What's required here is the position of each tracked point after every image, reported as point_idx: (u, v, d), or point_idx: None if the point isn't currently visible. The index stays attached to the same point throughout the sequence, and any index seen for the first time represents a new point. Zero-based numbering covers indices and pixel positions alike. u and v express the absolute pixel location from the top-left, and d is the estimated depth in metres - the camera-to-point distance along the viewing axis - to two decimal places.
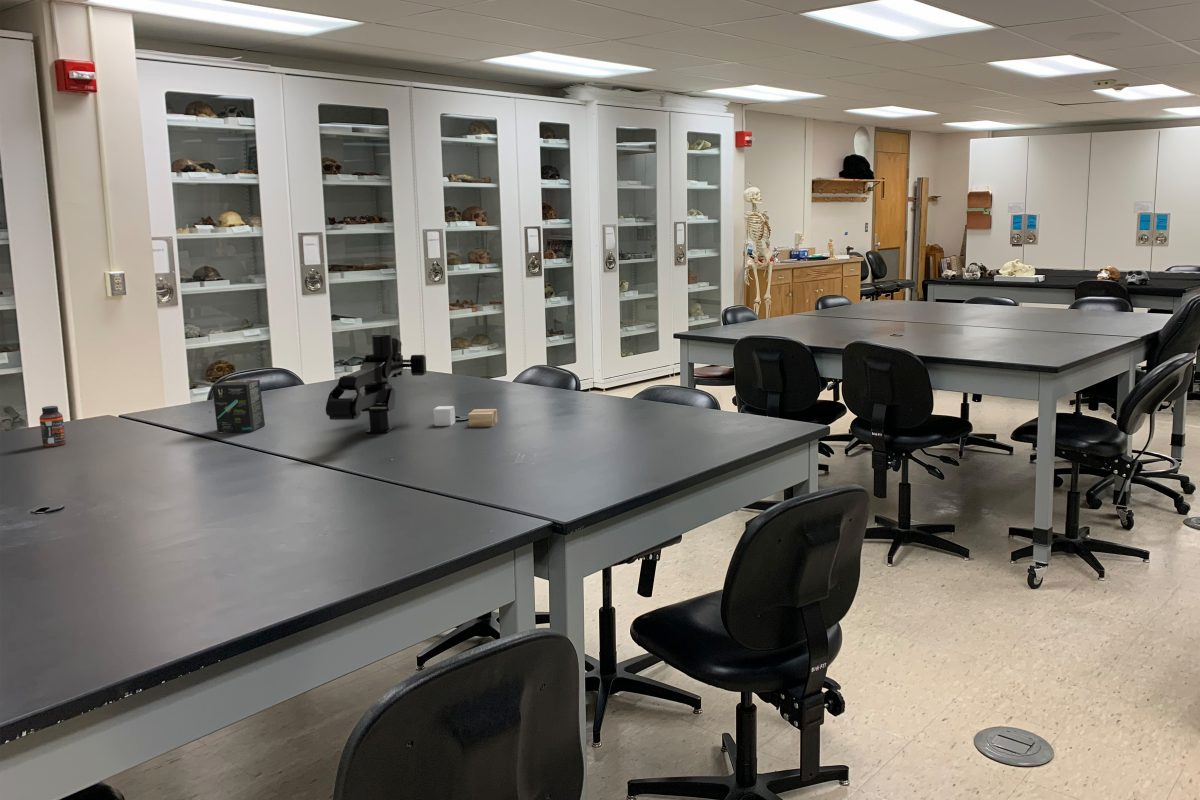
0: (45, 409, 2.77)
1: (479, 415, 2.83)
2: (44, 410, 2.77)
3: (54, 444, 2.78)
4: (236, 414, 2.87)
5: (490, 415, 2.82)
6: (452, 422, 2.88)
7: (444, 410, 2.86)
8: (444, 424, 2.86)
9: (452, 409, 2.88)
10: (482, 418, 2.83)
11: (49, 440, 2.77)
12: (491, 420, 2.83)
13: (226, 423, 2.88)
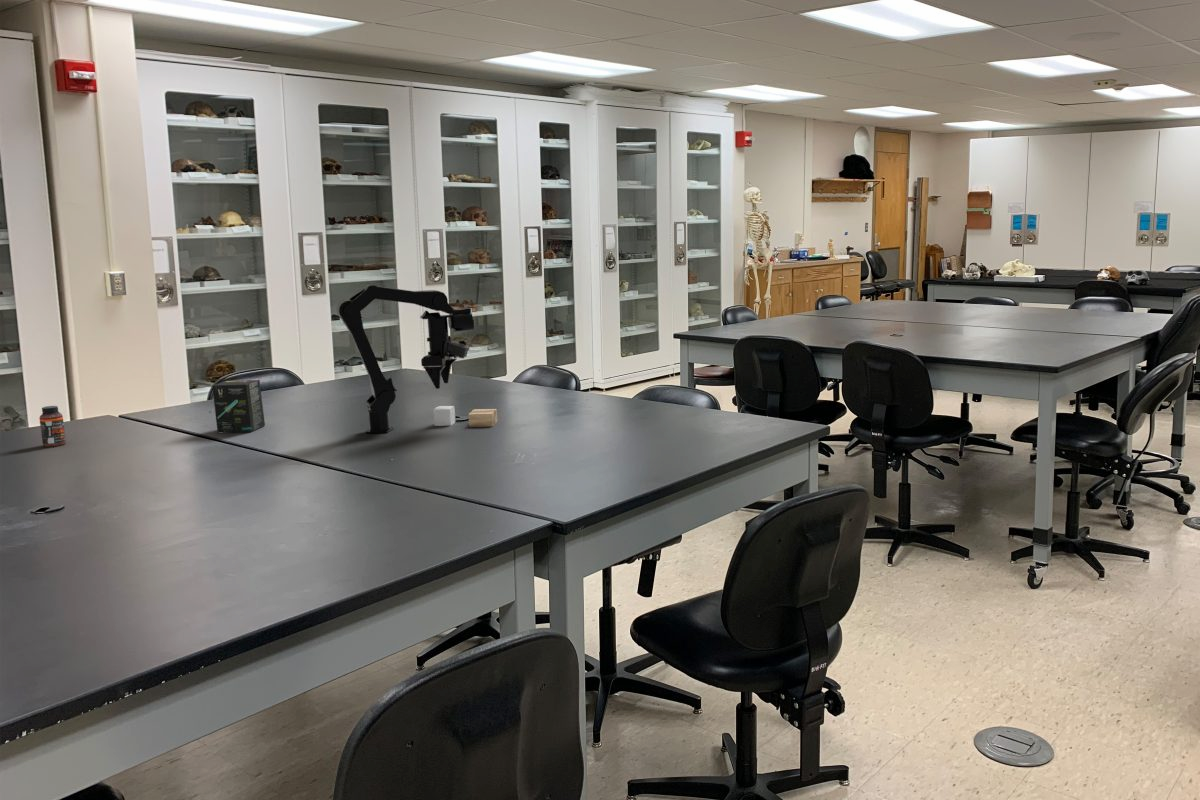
0: (45, 409, 2.77)
1: (479, 415, 2.83)
2: (44, 410, 2.77)
3: (54, 444, 2.78)
4: (236, 414, 2.87)
5: (490, 415, 2.82)
6: (452, 422, 2.88)
7: (444, 410, 2.86)
8: (444, 424, 2.86)
9: (452, 409, 2.88)
10: (482, 418, 2.83)
11: (49, 440, 2.77)
12: (491, 420, 2.83)
13: (226, 423, 2.88)
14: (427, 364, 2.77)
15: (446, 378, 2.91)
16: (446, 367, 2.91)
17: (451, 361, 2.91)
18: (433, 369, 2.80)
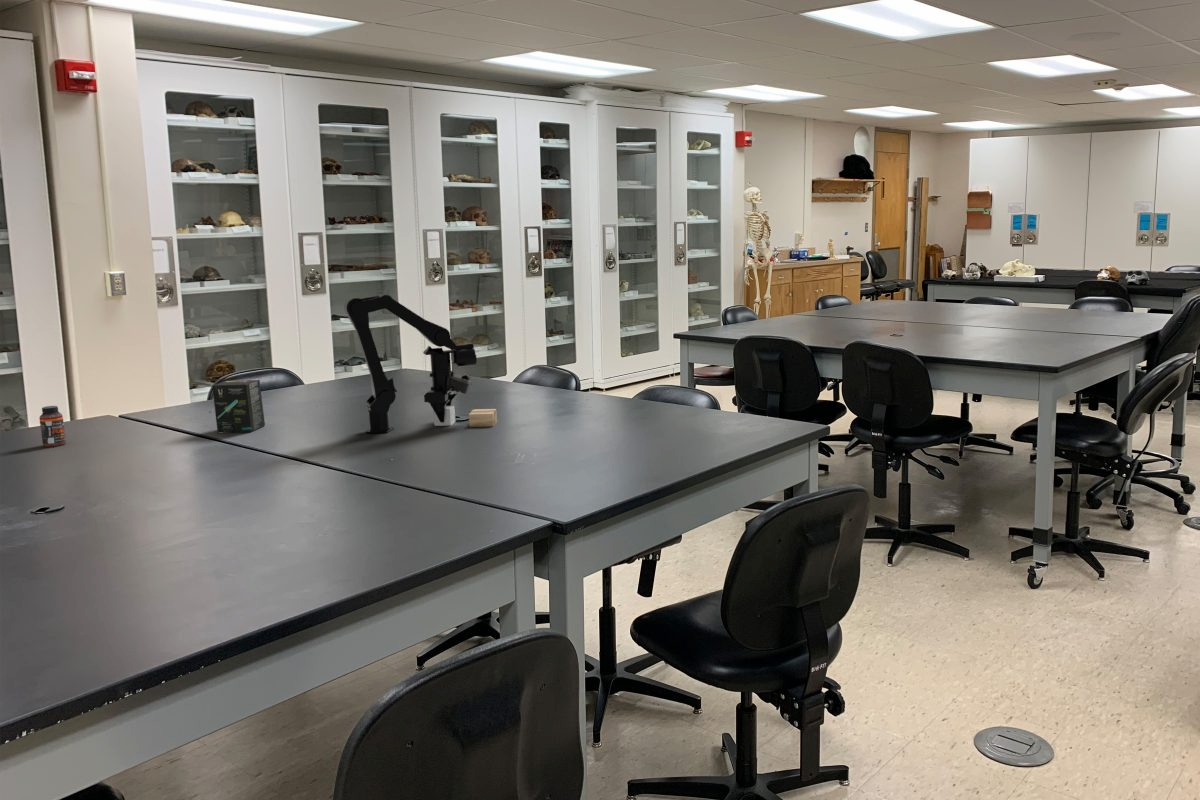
0: (45, 409, 2.77)
1: (480, 415, 2.83)
2: (44, 410, 2.77)
3: (54, 444, 2.78)
4: (236, 414, 2.87)
5: (491, 415, 2.82)
6: (452, 422, 2.88)
7: None
8: (444, 424, 2.86)
9: (452, 409, 2.88)
10: (483, 418, 2.83)
11: (49, 440, 2.77)
12: (492, 420, 2.83)
13: (226, 423, 2.88)
14: (430, 400, 2.78)
15: None
16: (447, 402, 2.91)
17: (452, 396, 2.91)
18: (438, 403, 2.84)
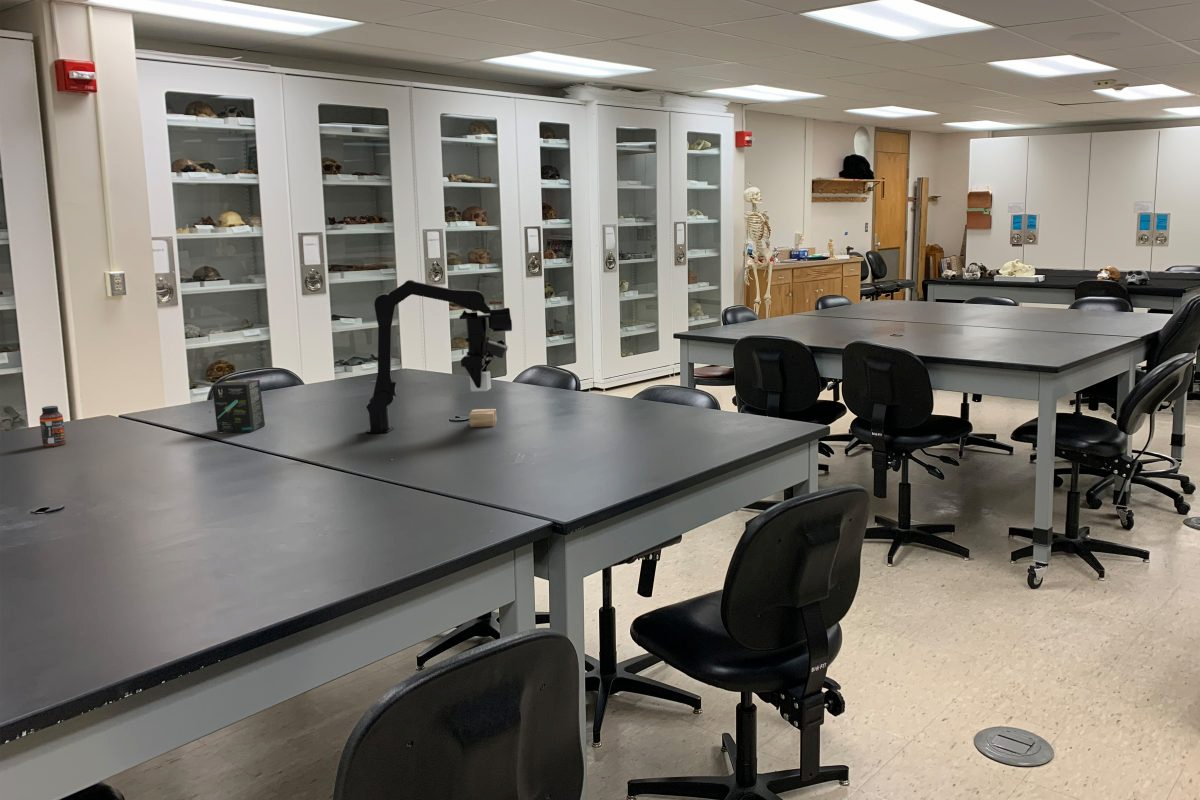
0: (45, 409, 2.77)
1: (480, 415, 2.83)
2: (44, 410, 2.77)
3: (54, 444, 2.78)
4: (236, 414, 2.87)
5: (491, 415, 2.83)
6: (488, 387, 2.84)
7: None
8: (480, 389, 2.82)
9: (488, 374, 2.84)
10: (483, 418, 2.83)
11: (49, 440, 2.77)
12: (492, 420, 2.83)
13: (226, 423, 2.88)
14: (467, 364, 2.74)
15: None
16: (483, 368, 2.87)
17: (488, 362, 2.86)
18: (474, 368, 2.80)
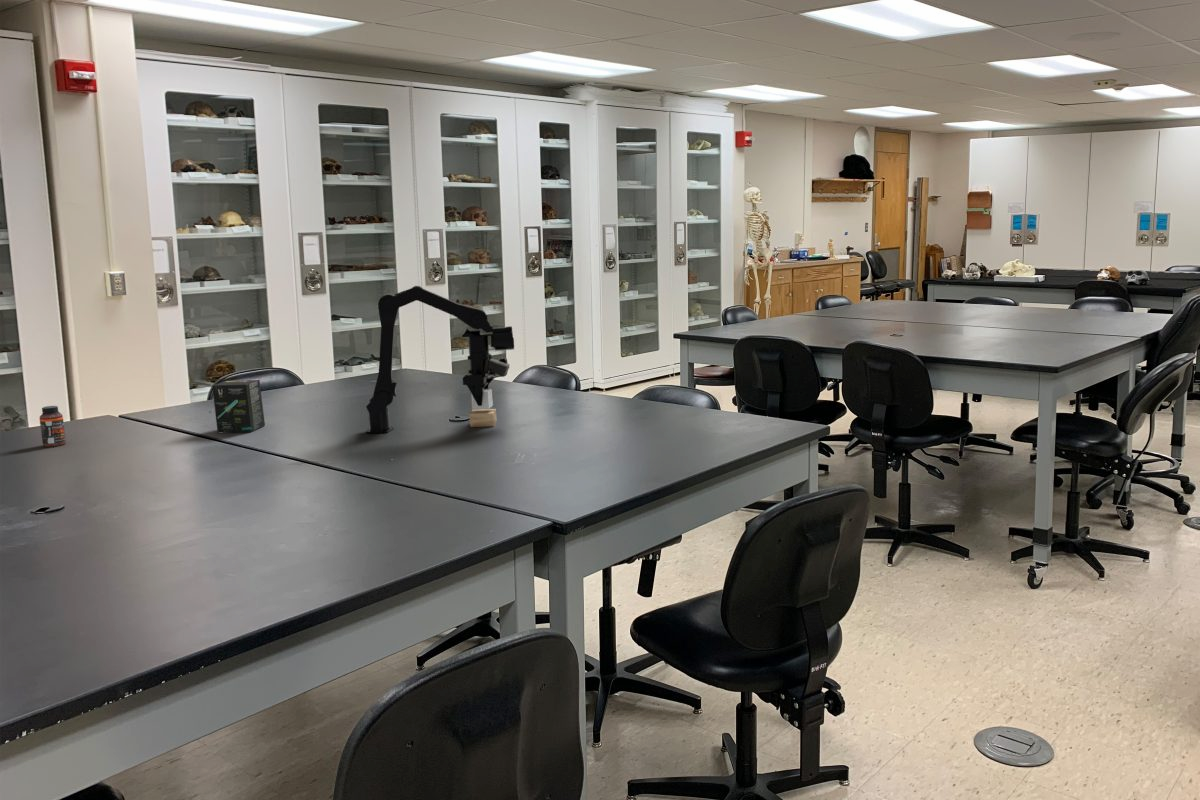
0: (45, 409, 2.77)
1: (480, 415, 2.83)
2: (44, 410, 2.77)
3: (54, 444, 2.78)
4: (236, 414, 2.87)
5: (492, 415, 2.83)
6: (490, 405, 2.85)
7: None
8: (482, 407, 2.83)
9: (490, 392, 2.85)
10: (483, 418, 2.83)
11: (49, 440, 2.77)
12: (493, 420, 2.83)
13: (226, 423, 2.88)
14: (468, 383, 2.75)
15: None
16: (484, 386, 2.88)
17: (489, 380, 2.87)
18: (476, 386, 2.81)
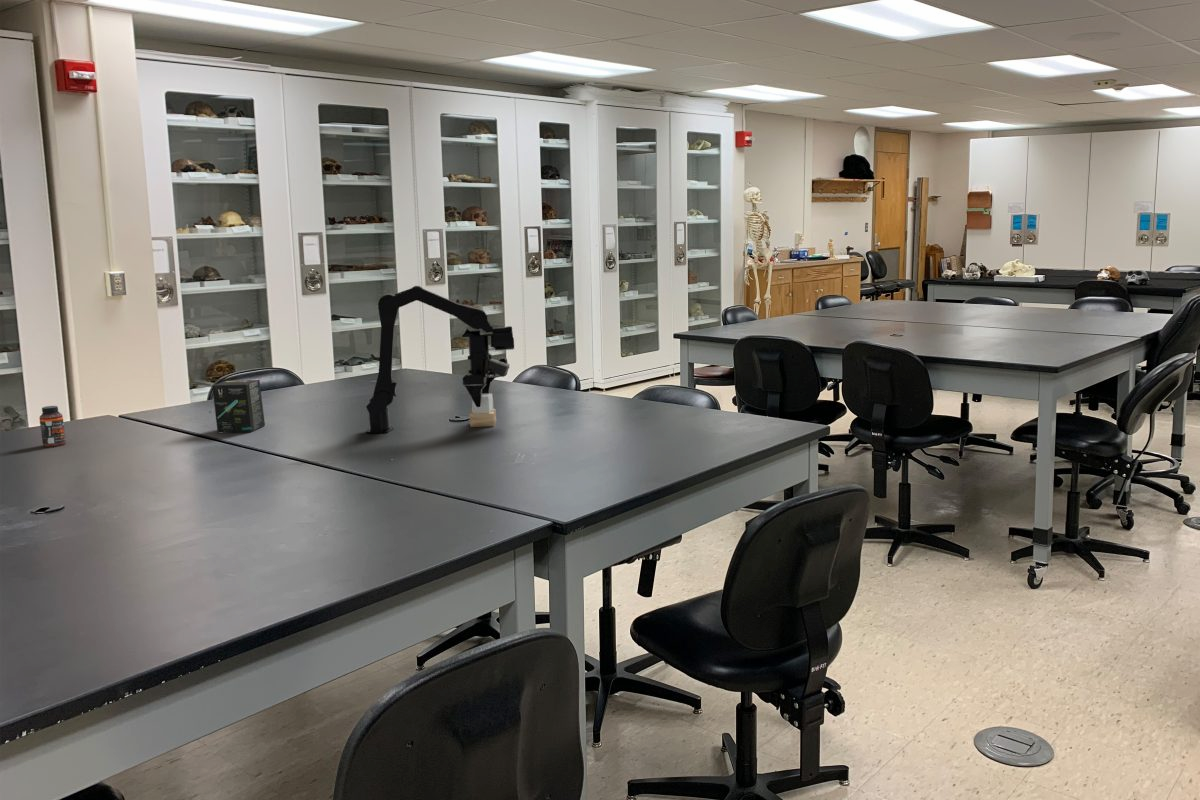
0: (45, 409, 2.77)
1: (480, 415, 2.83)
2: (44, 410, 2.77)
3: (54, 444, 2.78)
4: (236, 414, 2.87)
5: (492, 415, 2.83)
6: (490, 410, 2.85)
7: (483, 397, 2.82)
8: (482, 412, 2.83)
9: (490, 396, 2.85)
10: (483, 418, 2.83)
11: (49, 440, 2.77)
12: (493, 420, 2.83)
13: (226, 423, 2.88)
14: (468, 383, 2.75)
15: None
16: (486, 385, 2.89)
17: (491, 379, 2.89)
18: (474, 387, 2.79)
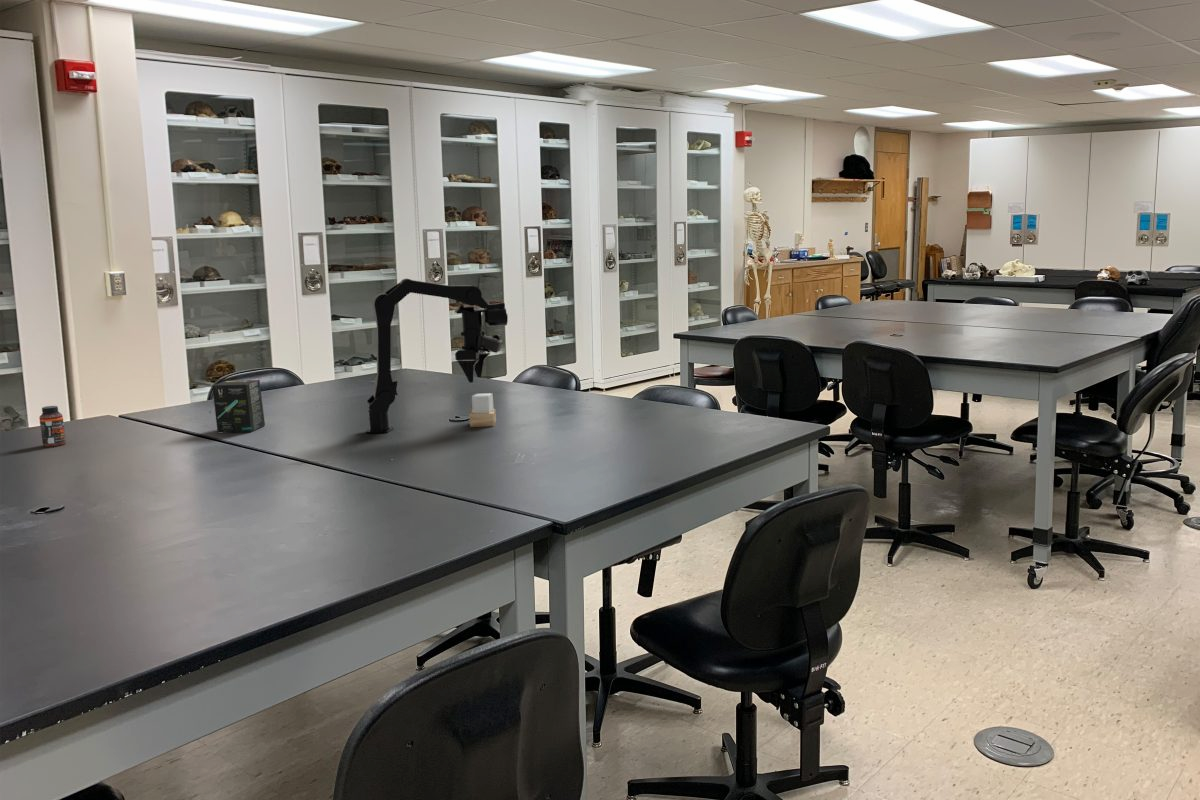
0: (45, 409, 2.77)
1: (480, 415, 2.83)
2: (44, 410, 2.77)
3: (54, 444, 2.78)
4: (236, 414, 2.87)
5: (491, 415, 2.83)
6: (490, 409, 2.85)
7: (483, 397, 2.83)
8: (482, 411, 2.83)
9: (490, 396, 2.85)
10: (483, 418, 2.83)
11: (49, 440, 2.77)
12: (492, 420, 2.83)
13: (226, 423, 2.88)
14: (461, 358, 2.79)
15: (479, 372, 2.93)
16: (479, 361, 2.93)
17: (484, 355, 2.92)
18: (467, 363, 2.82)
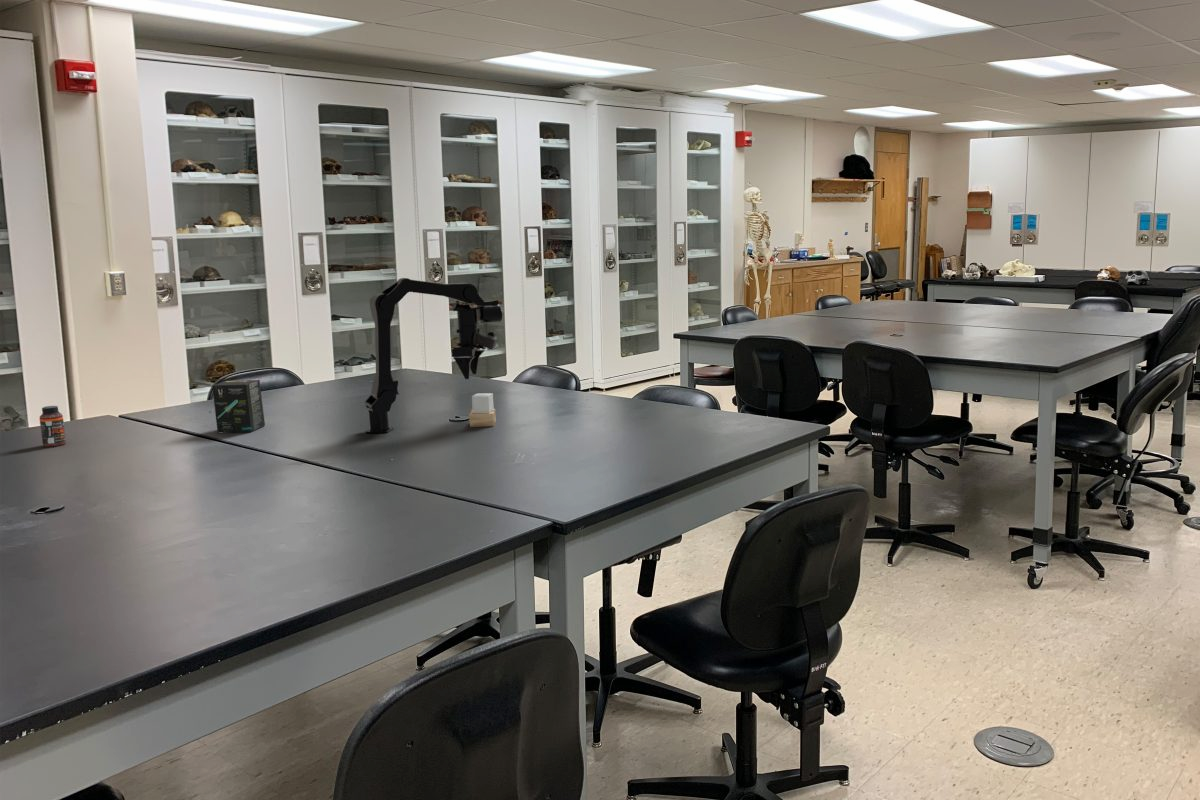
0: (45, 409, 2.77)
1: (480, 415, 2.83)
2: (44, 410, 2.77)
3: (54, 444, 2.78)
4: (236, 414, 2.87)
5: (491, 415, 2.83)
6: (490, 409, 2.85)
7: (483, 397, 2.83)
8: (482, 411, 2.83)
9: (491, 396, 2.85)
10: (483, 418, 2.83)
11: (49, 440, 2.77)
12: (492, 420, 2.83)
13: (226, 423, 2.88)
14: (457, 355, 2.82)
15: (474, 369, 2.97)
16: (474, 358, 2.97)
17: (479, 352, 2.96)
18: (463, 360, 2.86)
